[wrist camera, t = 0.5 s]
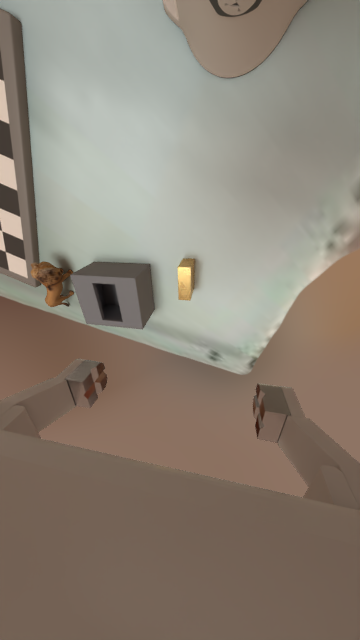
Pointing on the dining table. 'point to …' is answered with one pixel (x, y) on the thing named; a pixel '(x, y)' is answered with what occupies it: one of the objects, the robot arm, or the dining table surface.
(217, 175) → the dining table surface
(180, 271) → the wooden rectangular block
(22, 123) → the chess set
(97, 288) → the money box
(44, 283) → the lion figurine
